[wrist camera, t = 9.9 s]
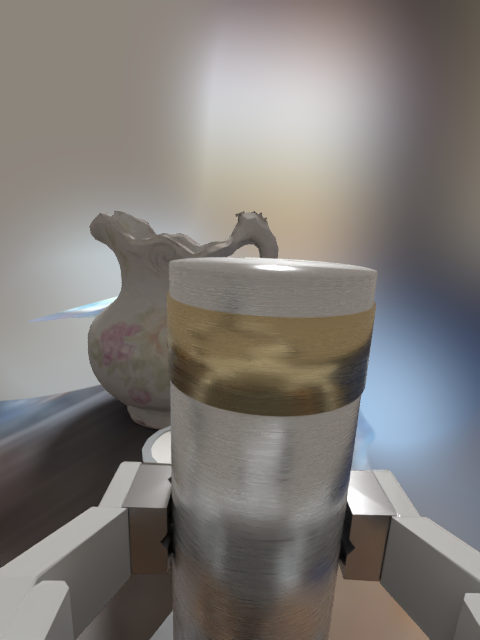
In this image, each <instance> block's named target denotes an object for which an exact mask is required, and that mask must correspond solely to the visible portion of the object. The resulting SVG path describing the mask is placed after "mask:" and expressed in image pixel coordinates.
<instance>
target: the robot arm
mask: <svg viewBox="0 0 480 640" xmlns="http://www.w3.org/2000/svg"><path fill="white" fill-rule="evenodd" d="M171 556H172V491H171V464H168V463H150V462H143V463H142V462H126V461H124V462H123V463H121V464H120V466H119V467H118V469H117V471H116V473H115V475H114V477H113V479H112V481H111V483H110V485H109V487H108V488H107V490H106V492H105V494H104V496H103V498H102V500H101V502H100V504H99V506H98V507H91V508H89V509H88V510H86V511H85V512H83V513H82V514H80V515H79V516H77V517H76V518H74V519H73V520H71V521H70V522H68V523H67V524H66V525H64V526H63V527H61V528H60V529H58V530H57V531H55V532H54V533H52V534H51V535H49V536H48V537H46V538H45V539H43V540H42V541H40V542H39V543H37V544H36V545H34V546H33V547H31V548H30V549H28V550H27V551H25V552H24V553H22V554H21V555H19V556H18V557H16V558H15V559H13V560H12V561H10V562H9V563H7V564H6V565H5V566H3V567H2V568H0V640H76V639H77V637H78V636H79V635H80V634H81V633H82V632H83V631H84V629H85V628H86V627H87V626H88V625H89V624H90V623H91V621H92V620H93V619H94V618H95V617H96V616H97V615H98V613H99V612H100V611H101V610H102V609H103V608H104V607H105V605H106V604H107V603H108V602H109V601H110V600H111V599H112V597H113V596H114V595H115V594H116V593H117V592H118V591H119V589H120V588H121V587H122V586H123V585H124V584H125V583H126V581H127V580H128V579H129V578H130V577H131V574H168V570H169V565H170V561H171ZM339 565H340V569H341V572H342V575H343V578H344V579H347V580H364V581H380V584H381V585H382V586H383V587H384V588H385V589H386V591H387V592H388V593H389V594H390V595H391V596H392V597H393V598H394V599H395V601H396V602H397V603H398V604H399V605H400V606H401V607H402V608H403V609H404V611H405V612H406V613H407V614H408V615H409V616H410V617H411V618H412V620H413V621H414V622H415V623H416V624H417V625H418V626H419V627H420V628H421V630H422V631H423V632H424V633H425V634H426V635H427V636H428V637H429V638H430V640H480V553H479V552H478V551H476V550H475V549H473V548H472V547H470V546H469V545H467V544H466V543H464V542H463V541H461V540H460V539H458V538H457V537H455V536H454V535H452V534H451V533H449V532H448V531H446V530H445V529H443V528H442V527H440V526H439V525H437V524H436V523H434V522H433V521H431V520H430V519H428V518H427V517H420V515H419V514H418V512H417V511H416V509H415V508H414V506H413V505H412V503H411V501H410V500H409V498H408V497H407V495H406V494H405V492H404V491H403V489H402V488H401V486H400V484H399V483H398V482H397V480H396V478H395V477H394V475H393V474H392V472H390V471H389V470H369V471H364V470H351V474H350V481H349V489H348V496H347V504H346V511H345V519H344V526H343V534H342V541H341V549H340V556H339Z"/></svg>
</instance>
